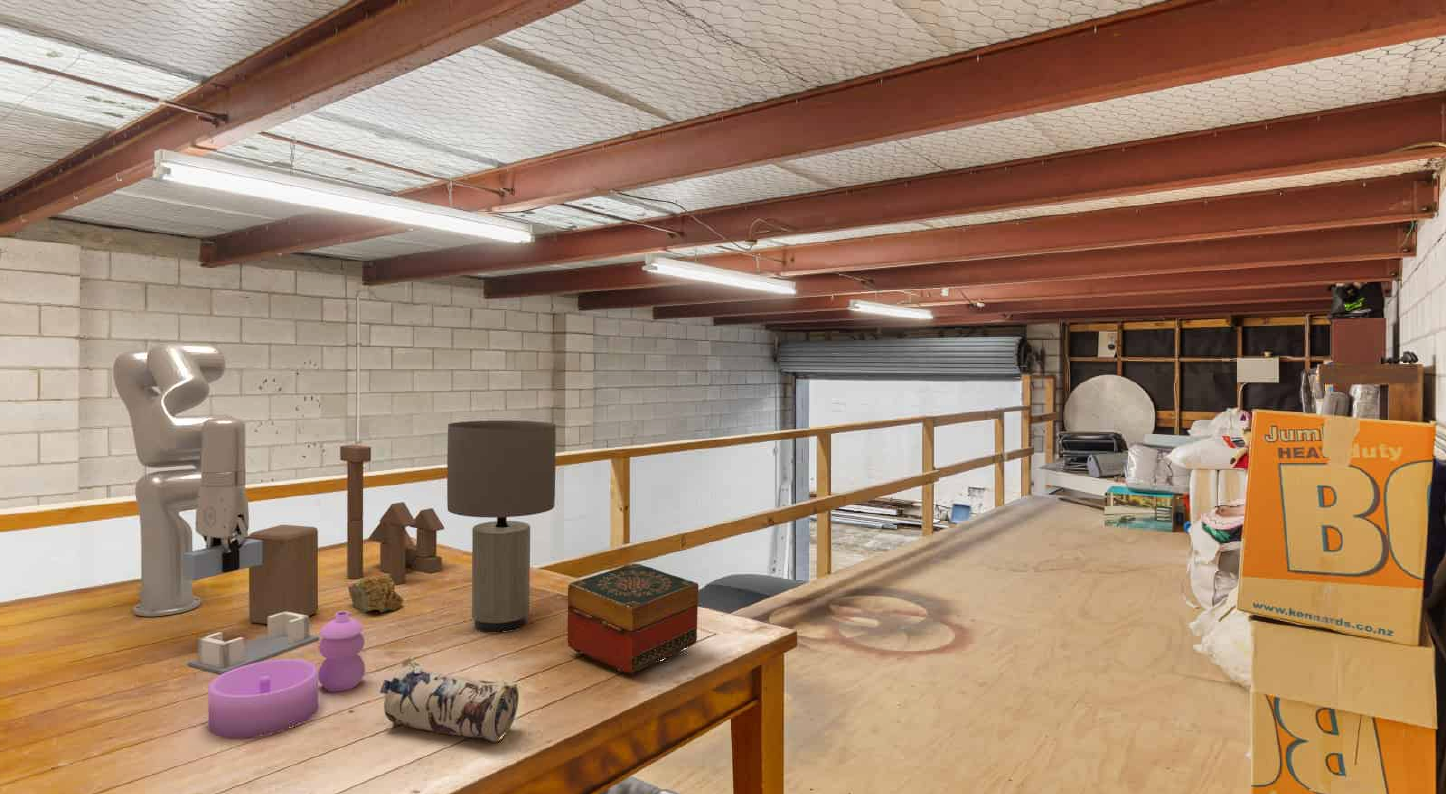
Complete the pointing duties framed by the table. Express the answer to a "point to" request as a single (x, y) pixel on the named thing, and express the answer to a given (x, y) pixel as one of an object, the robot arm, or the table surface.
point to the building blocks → (387, 528)
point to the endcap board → (253, 644)
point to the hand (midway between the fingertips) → (223, 568)
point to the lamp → (500, 509)
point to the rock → (375, 594)
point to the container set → (285, 685)
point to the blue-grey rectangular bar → (218, 560)
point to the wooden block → (284, 573)
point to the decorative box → (632, 616)
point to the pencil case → (450, 703)
